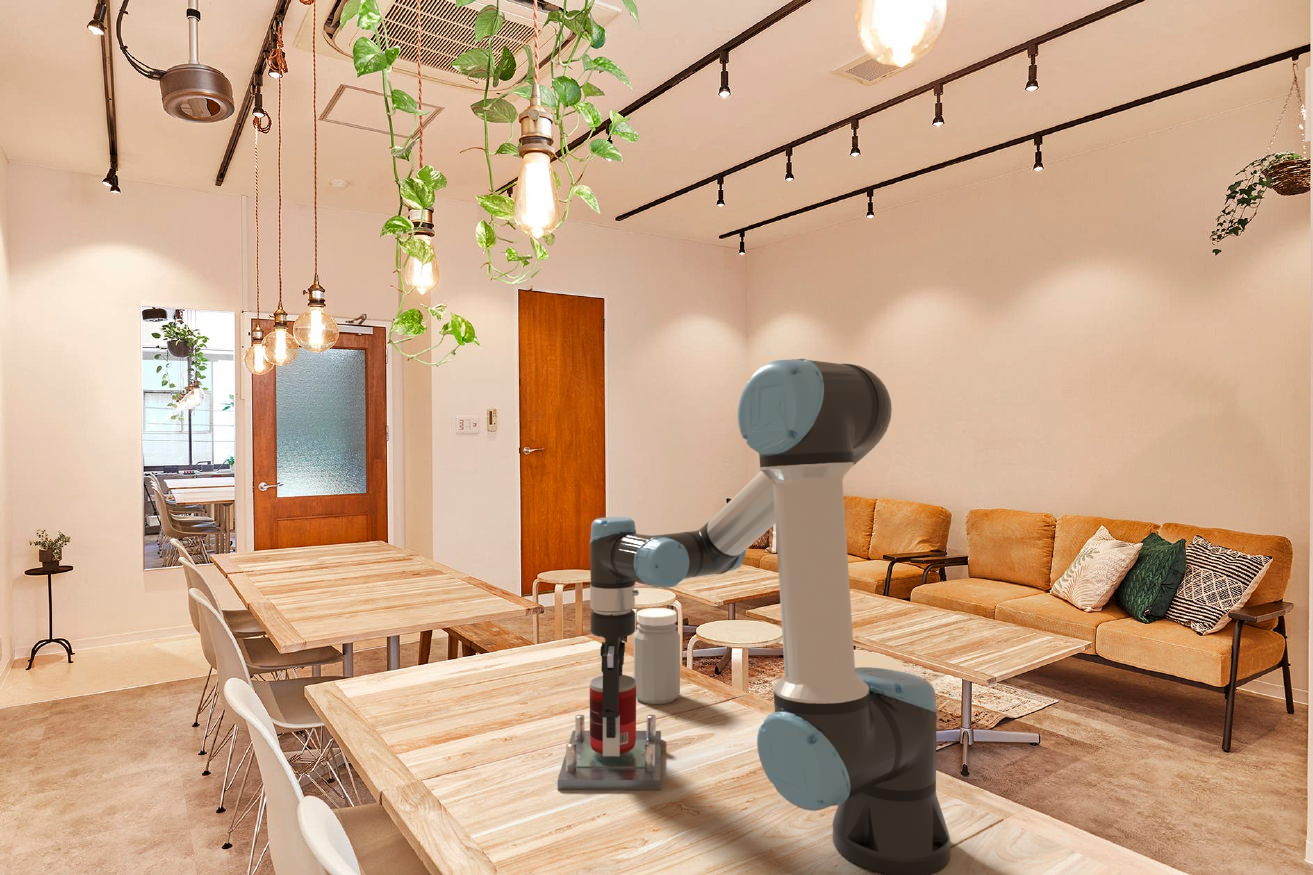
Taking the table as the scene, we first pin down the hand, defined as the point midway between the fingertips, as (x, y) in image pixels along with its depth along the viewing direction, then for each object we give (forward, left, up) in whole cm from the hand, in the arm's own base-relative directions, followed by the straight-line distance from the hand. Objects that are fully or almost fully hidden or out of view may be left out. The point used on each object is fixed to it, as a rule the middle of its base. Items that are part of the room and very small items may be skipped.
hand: (613, 744), depth 130 cm
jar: (+32, -7, -3) cm, 33 cm away
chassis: (0, 0, -3) cm, 3 cm away
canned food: (0, 0, -1) cm, 1 cm away
